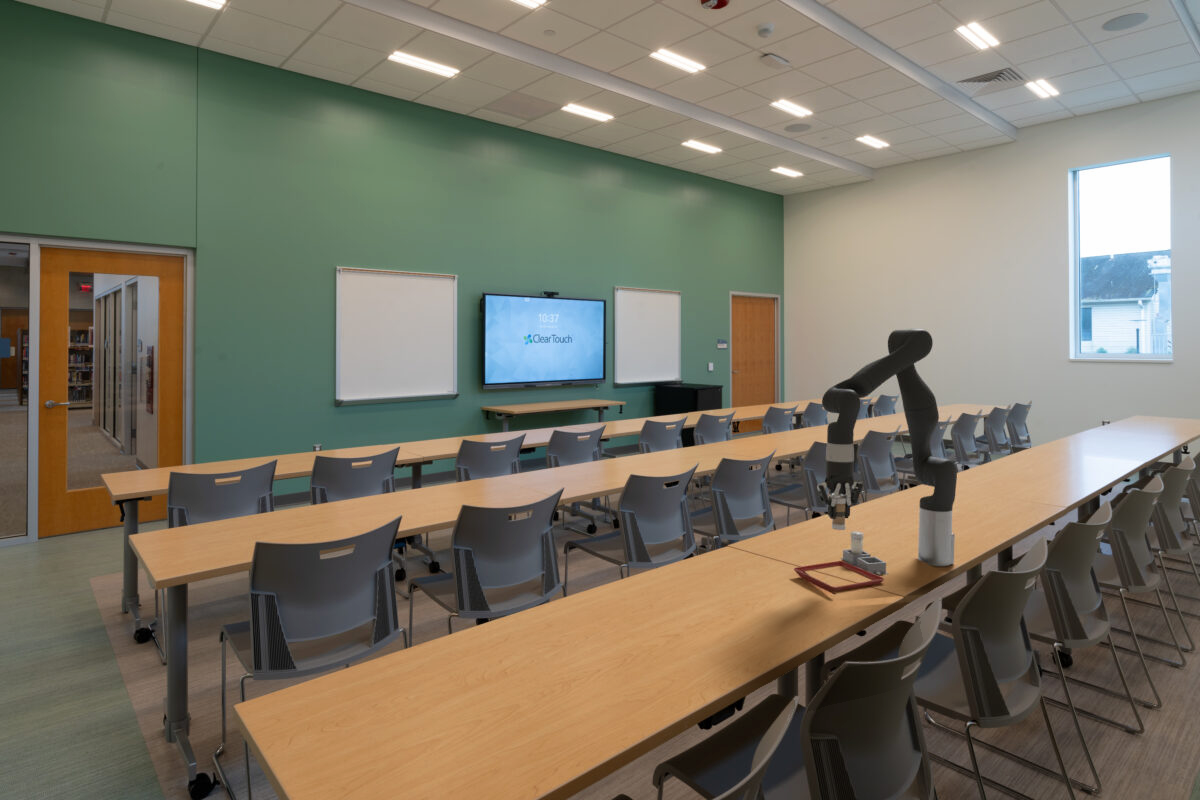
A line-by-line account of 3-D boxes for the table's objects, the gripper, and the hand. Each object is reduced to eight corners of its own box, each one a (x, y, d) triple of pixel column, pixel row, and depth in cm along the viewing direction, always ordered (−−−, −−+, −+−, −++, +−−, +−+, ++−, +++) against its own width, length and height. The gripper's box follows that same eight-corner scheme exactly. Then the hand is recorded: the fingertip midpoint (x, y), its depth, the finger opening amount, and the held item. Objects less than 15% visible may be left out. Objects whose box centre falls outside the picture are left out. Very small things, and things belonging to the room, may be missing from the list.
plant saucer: (792, 578, 194) (792, 567, 194) (840, 570, 201) (841, 559, 200) (833, 599, 177) (834, 587, 177) (885, 590, 184) (886, 578, 184)
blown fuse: (841, 526, 190) (841, 495, 189) (847, 529, 186) (848, 498, 186) (829, 527, 189) (830, 496, 189) (836, 530, 186) (836, 499, 185)
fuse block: (858, 561, 207) (858, 547, 207) (889, 578, 192) (889, 563, 191) (840, 562, 206) (840, 548, 206) (869, 580, 191) (869, 565, 190)
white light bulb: (858, 559, 205) (859, 531, 204) (865, 563, 201) (865, 534, 201) (848, 560, 204) (848, 531, 204) (854, 563, 201) (854, 535, 200)
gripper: (855, 455, 191) (854, 513, 192) (810, 457, 189) (809, 516, 190) (870, 460, 184) (868, 520, 185) (823, 461, 182) (822, 522, 183)
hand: (838, 517), depth 188 cm, fingers closed on blown fuse, 3 cm apart
